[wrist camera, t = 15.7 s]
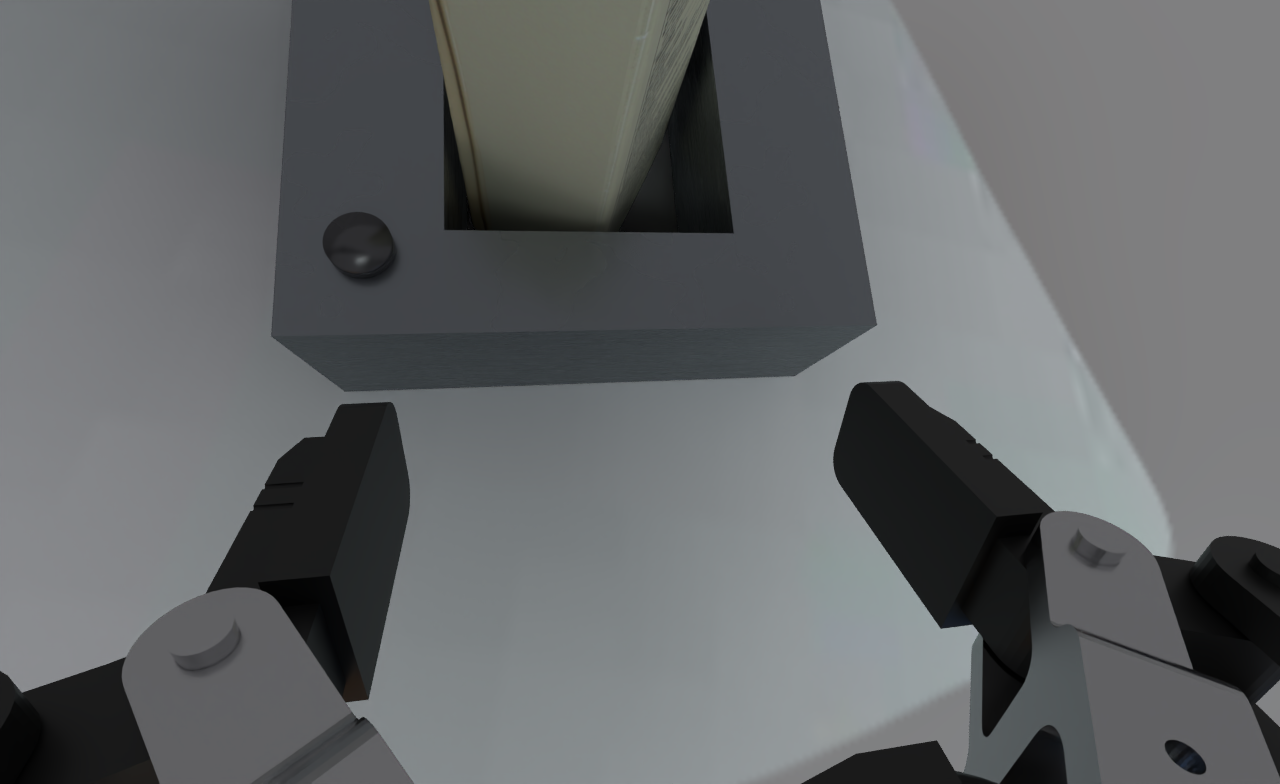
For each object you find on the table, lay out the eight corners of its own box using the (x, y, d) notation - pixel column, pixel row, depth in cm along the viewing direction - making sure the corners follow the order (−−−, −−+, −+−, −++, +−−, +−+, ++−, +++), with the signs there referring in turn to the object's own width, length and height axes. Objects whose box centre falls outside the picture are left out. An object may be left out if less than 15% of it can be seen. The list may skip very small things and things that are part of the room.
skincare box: (553, 92, 21) (574, -472, 9) (667, 148, 21) (829, -331, 9) (467, 235, 19) (359, -237, 7) (592, 295, 19) (679, -70, 8)
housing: (344, 391, 17) (263, 330, 12) (357, -5, 20) (297, -189, 15) (794, 375, 20) (885, 319, 15) (745, 25, 23) (806, -124, 18)
